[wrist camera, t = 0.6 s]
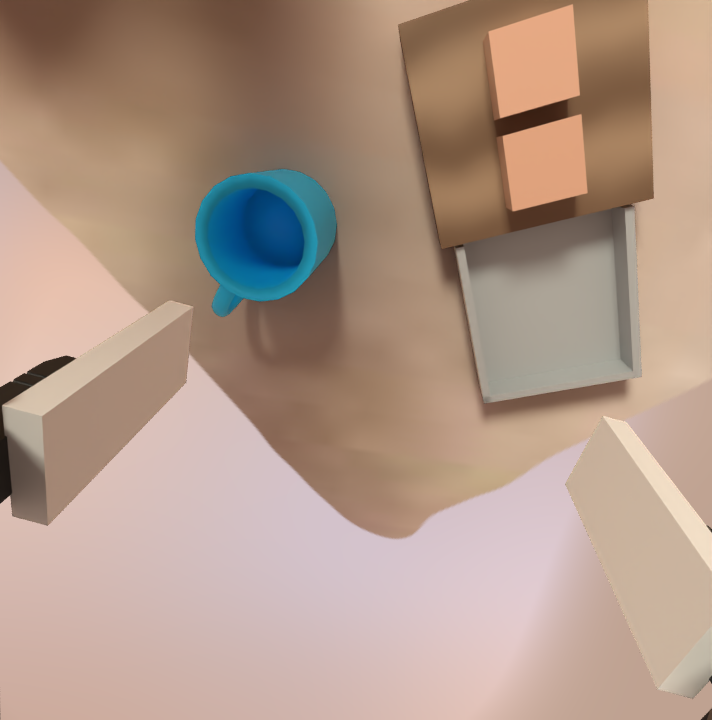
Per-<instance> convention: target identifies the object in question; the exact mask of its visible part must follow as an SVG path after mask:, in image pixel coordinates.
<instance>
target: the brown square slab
mask: <svg viewBox="0 0 712 720" xmlns="http://www.w3.org/2000/svg"><path fill="white" fill-rule="evenodd" d="M572 4H573V12H574V25H575V38H576V51H577V64H578V76H579V89H580V95H579V96H576V97H574V98H571V99H568V100H564V101H561V102H558V103H554V104H551V105H547V106H544V107H540V108H537V109H533V110H530V111H526V112H523V113H519V114H516V115H512V116H509V117H505V118H502V119H498V120H495V121H494V118H493V111H492V104H491V97H490V90H489V83H488V75H487V68H486V61H485V54H484V47H483V40H484V38H485V36H486V35H487V33H488V32H489V31H492V30H495V29H498V28H501V27H504V26H507V25H510V24H513V23H516V22H519V21H523V20H526V19H529V18H532V17H535V16H538V15H541V14H544V13H547V12H550V11H553V10H556V9H559V8H562V7H566V6H569V5H572ZM398 27H399V34H400V40H401V45H402V51H403V56H404V61H405V66H406V71H407V76H408V82H409V87H410V92H411V97H412V102H413V107H414V113H415V118H416V123H417V128H418V133H419V138H420V143H421V149H422V154H423V159H424V164H425V169H426V174H427V180H428V185H429V190H430V195H431V200H432V205H433V210H434V216H435V221H436V226H437V231H438V236H439V241H440V245H441V249H444V248H448V247H452V246H457V245H461V244H465V243H469V242H473V241H478V240H482V239H486V238H490V237H494V236H498V235H503V234H507V233H511V232H515V231H519V230H524V229H528V228H532V227H536V226H540V225H545V224H549V223H553V222H557V221H561V220H565V219H570V218H574V217H578V216H582V215H586V214H591V213H595V212H599V211H603V210H607V209H612V208H616V207H620V206H624V205H628V204H632V203H637V202H641V201H645V200H649V199H653V198H654V192H653V158H652V124H651V90H650V56H649V22H648V0H469V1H466V2H463V3H460V4H457V5H454V6H451V7H448V8H446V9H443V10H440V11H437V12H434V13H431V14H428V15H425V16H422V17H419V18H416V19H413V20H410V21H407V22H405V23H402V24H399V25H398ZM580 114H581V115H582V128H583V140H584V153H585V166H586V179H587V192H588V193H586V194H582V195H578V196H574V197H570V198H566V199H561V200H557V201H553V202H549V203H545V204H541V205H537V206H533V207H529V208H525V209H521V210H517V211H511V210H509V209H508V208H506V204H505V197H504V190H503V183H502V176H501V168H500V161H499V154H498V147H497V140H496V137H499V136H503V135H506V134H510V133H514V132H517V131H521V130H524V129H528V128H531V127H535V126H539V125H542V124H546V123H549V122H553V121H556V120H560V119H564V118H567V117H571V116H575V115H580Z"/></svg>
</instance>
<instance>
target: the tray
mask: <svg viewBox="0 0 712 720" xmlns="http://www.w3.org/2000/svg"><path fill="white" fill-rule="evenodd" d="M454 251H455V256H456V261H457V267H458V272H459V278H460V283H461V289H462V294H463V300H464V305H465V310H466V316H467V321H468V327H469V332H470V338H471V343H472V348H473V354H474V359H475V365H476V370H477V376H478V381H479V387H480V390H481V394H482V398H483V401H484V404H485V403H491V402H497V401H503V400H509V399H515V398H520V397H526V396H532V395H538V394H544V393H550V392H556V391H562V390H568V389H574V388H579V387H585V386H591V385H597V384H603V383H609V382H615V381H621V380H627V379H632V378H638V377H642V369H641V346H640V323H639V301H638V278H637V255H636V233H635V210H634V206H632V205H624V206H620V207H616V208H612V209H607V210H603V211H599V212H595V213H591V214H586V215H582V216H578V217H574V218H570V219H565V220H561V221H557V222H553V223H549V224H545V225H540V226H536V227H532V228H528V229H524V230H519V231H515V232H511V233H507V234H503V235H498V236H494V237H490V238H486V239H482V240H478V241H473V242H469V243H465V244H461V245H457V246H454Z"/></svg>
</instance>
